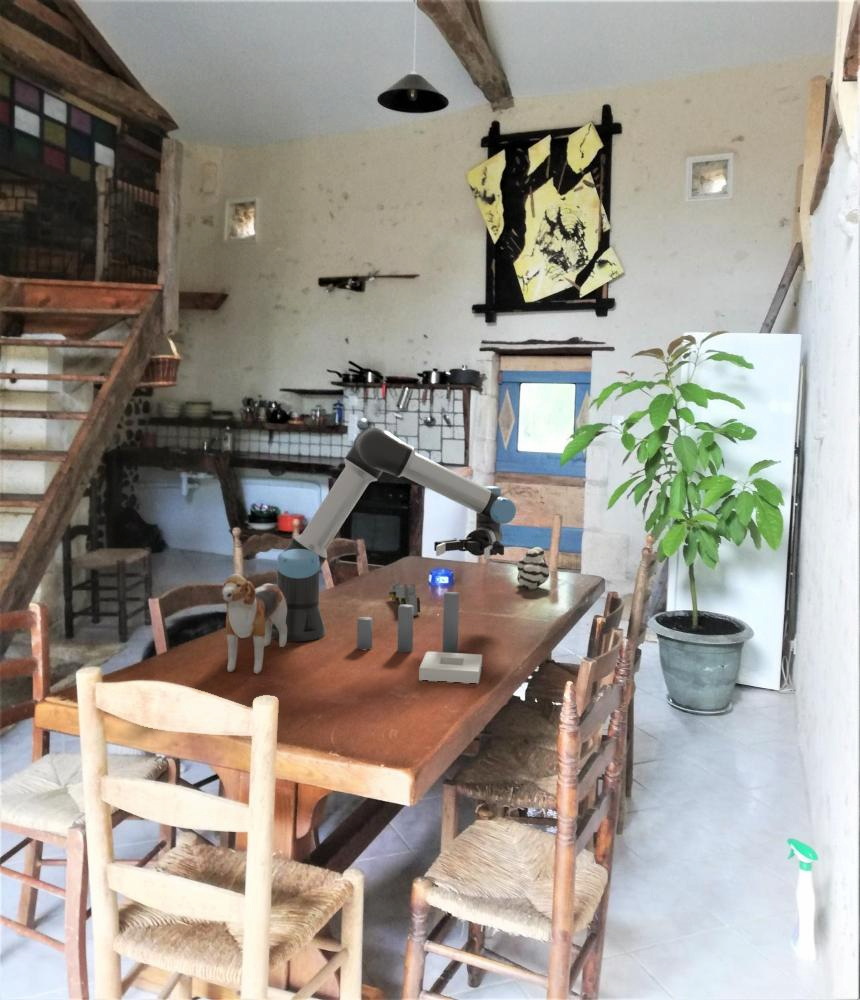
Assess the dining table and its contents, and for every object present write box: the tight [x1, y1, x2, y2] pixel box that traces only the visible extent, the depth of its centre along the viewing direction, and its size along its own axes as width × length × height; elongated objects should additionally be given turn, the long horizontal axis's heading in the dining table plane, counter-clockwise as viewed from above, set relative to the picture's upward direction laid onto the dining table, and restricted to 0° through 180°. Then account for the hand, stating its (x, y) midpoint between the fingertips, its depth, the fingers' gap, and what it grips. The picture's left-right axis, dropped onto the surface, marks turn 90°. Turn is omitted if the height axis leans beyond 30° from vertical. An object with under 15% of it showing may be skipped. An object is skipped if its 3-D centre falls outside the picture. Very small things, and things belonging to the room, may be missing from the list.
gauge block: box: [418, 650, 483, 685], centre depth 196 cm, size 14×14×3 cm
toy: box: [388, 582, 421, 617], centre depth 264 cm, size 6×24×10 cm, turn 15°
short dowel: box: [356, 616, 373, 650], centre depth 215 cm, size 4×4×8 cm
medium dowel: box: [397, 604, 414, 653], centre depth 214 cm, size 4×4×12 cm
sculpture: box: [516, 546, 551, 590], centre depth 299 cm, size 22×12×15 cm, turn 166°
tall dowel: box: [441, 591, 460, 653], centre depth 212 cm, size 4×4×16 cm
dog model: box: [220, 573, 288, 675], centre depth 200 cm, size 10×41×25 cm, turn 172°
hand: (461, 552), depth 220 cm, fingers open, 13 cm apart
